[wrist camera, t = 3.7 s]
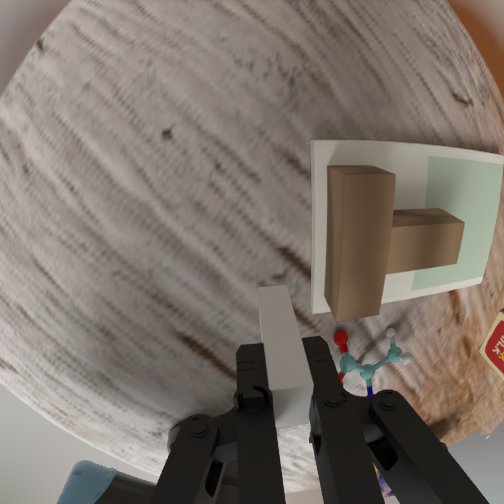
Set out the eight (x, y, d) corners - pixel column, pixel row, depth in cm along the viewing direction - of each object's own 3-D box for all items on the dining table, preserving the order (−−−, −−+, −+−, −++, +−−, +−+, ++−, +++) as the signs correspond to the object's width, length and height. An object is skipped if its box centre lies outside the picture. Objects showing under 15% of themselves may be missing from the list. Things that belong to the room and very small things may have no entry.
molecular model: (424, 309, 26) (429, 406, 21) (405, 335, 34) (406, 410, 28) (316, 315, 29) (311, 413, 24) (320, 340, 37) (316, 414, 32)
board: (310, 306, 29) (312, 314, 28) (309, 139, 22) (313, 140, 21) (475, 278, 30) (481, 283, 28) (496, 153, 23) (503, 155, 22)
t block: (323, 295, 27) (335, 321, 23) (326, 165, 22) (344, 174, 18) (427, 280, 27) (447, 300, 24) (443, 167, 22) (470, 177, 19)
